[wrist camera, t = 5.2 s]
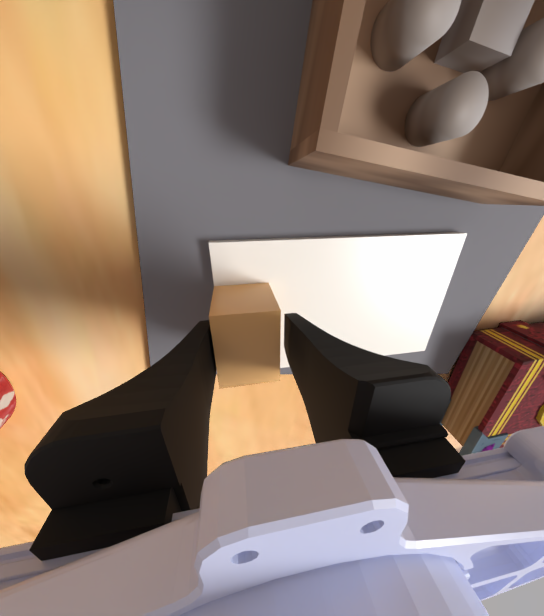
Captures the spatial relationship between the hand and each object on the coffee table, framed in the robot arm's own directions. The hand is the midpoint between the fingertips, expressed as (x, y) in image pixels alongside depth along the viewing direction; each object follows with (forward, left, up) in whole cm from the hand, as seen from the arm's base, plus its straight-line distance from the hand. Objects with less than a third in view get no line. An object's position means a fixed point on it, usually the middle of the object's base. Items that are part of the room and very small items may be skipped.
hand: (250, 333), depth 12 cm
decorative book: (-27, +5, -3) cm, 28 cm away
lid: (-6, -1, -2) cm, 6 cm away
